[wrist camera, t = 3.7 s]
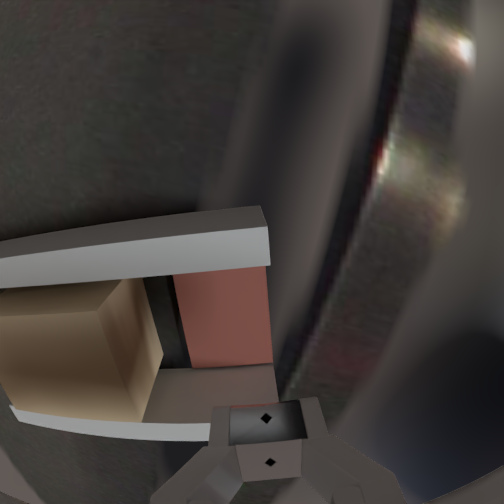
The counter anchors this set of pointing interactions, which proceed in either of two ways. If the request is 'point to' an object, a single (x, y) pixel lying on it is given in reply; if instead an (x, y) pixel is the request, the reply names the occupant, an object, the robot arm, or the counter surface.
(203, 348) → the trap pad
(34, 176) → the counter surface
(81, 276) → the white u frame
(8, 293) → the maple block
